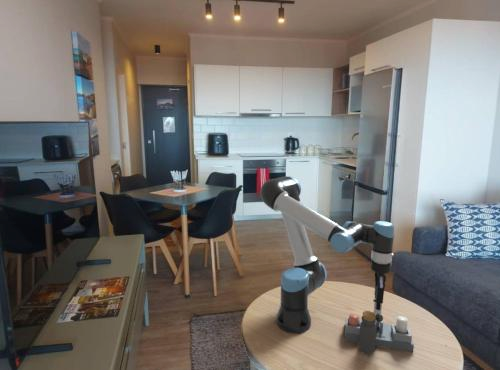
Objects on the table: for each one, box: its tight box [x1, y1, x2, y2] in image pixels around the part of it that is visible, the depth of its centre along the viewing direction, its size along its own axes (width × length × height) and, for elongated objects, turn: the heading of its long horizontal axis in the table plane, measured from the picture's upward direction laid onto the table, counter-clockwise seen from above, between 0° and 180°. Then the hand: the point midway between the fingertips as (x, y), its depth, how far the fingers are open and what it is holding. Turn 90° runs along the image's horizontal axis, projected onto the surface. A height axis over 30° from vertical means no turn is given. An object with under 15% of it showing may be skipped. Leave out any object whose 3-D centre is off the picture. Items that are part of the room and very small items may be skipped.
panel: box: [344, 317, 415, 352], centre depth 136 cm, size 25×12×7 cm, turn 75°
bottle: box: [358, 310, 376, 355], centre depth 128 cm, size 6×6×15 cm
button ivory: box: [395, 315, 409, 334], centre depth 131 cm, size 4×4×5 cm
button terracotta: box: [348, 313, 360, 327], centre depth 136 cm, size 4×4×5 cm
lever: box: [375, 313, 384, 330], centre depth 133 cm, size 3×3×12 cm
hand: (377, 315), depth 135 cm, fingers closed
